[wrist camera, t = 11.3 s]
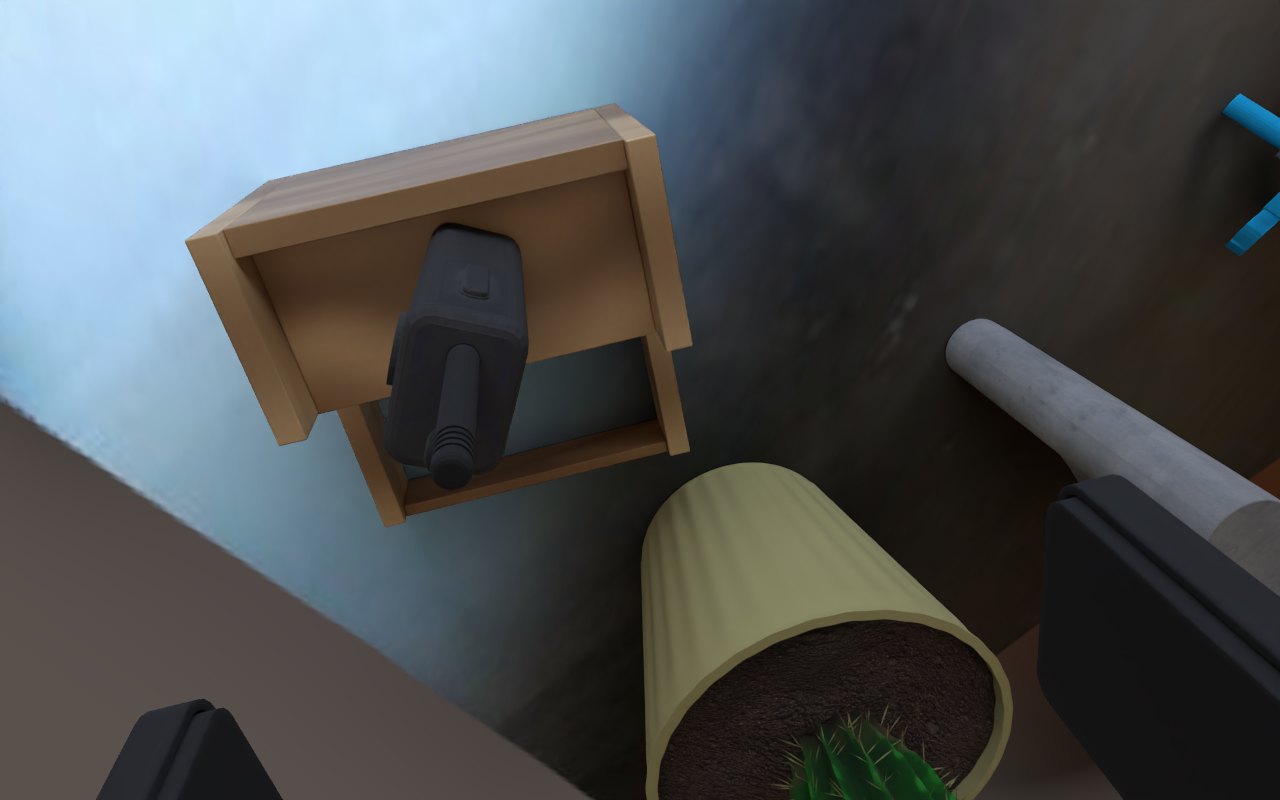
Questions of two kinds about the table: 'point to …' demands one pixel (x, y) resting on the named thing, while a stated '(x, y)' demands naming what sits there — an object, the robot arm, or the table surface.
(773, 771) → the potted cactus
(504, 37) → the table surface
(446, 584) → the table surface
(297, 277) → the step shelf
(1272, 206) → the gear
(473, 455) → the walkie-talkie
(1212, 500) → the hip flask
